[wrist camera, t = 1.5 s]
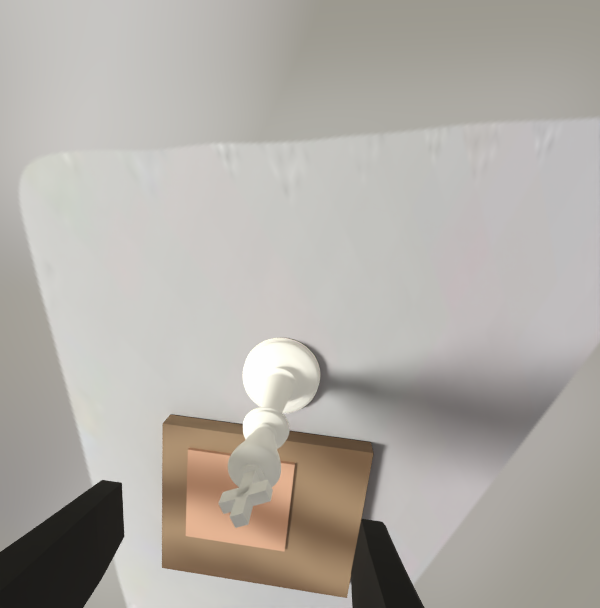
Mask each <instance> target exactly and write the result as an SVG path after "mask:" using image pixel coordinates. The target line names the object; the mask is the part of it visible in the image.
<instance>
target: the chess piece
mask: <svg viewBox="0 0 600 608" xmlns="http://www.w3.org/2000/svg"><path fill="white" fill-rule="evenodd" d="M243 383H244V387H245V390H246V392H247V394H248V395H249V397H250V398H251V399H252V400H253V401H254V402H255V403H256V404H257V405H258V406H260V407H259V408H256V409H253V410H252V411H250V412H249V413H248V414H247V415H246V417H245V419H244V422H243V434H244V437H245V439H246V440H245V441H244V442H243V443H241V444H240V445H239V446H238V447H237V448H236V449H235V450H234V451H233V453H232V454H231V456H230V458H229V461H228V473H229V476H230V478H231V479H232V481H233V482H234V483H235V484H236V485H237V486H238V487H239V488H236V489H232V490H229V491H225V492H223V493H222V495H221V498H220V500H219V503H218V504H219V506H220V508H221V510H222V512H223V514H226V513H229V512H231V514H230V519H231V521H232V522H233V524H234V526H235V528H237V527H241V526H245V525H248V524H249V520H250V516H251V512H252V508H253V506H255V505H259V504H263V503H266V502H270V501H271V497H272V492H273V489H272V487H273V486H274V485H275V484H276V483H277V482H278V480H279V478H280V475H281V462H280V457H279V454H278V451H277V449H278V448H280V447H281V446H282V445H283V444H284V443H285V441H286V440H287V438H288V436H289V430H290V429H289V423H288V421H287V419H286V417H285V416H284V415H283V414H282V413H291V412H295V411H298V410H300V409H302V408H303V407H305V406H306V405H307V404H308V403H309V402H310V401H311V400H312V399H313V398H314V396H315V394H316V392H317V389H318V386H319V383H320V368H319V364H318V361H317V359H316V357H315V356H314V354H313V353H312V352H311V351H310V350H309V349H308V348H307V347H306V346H305V345H303V344H301V343H300V342H298V341H295V340H292V339H288V338H272V339H269V340H266V341H263V342H261V343H260V344H258V345H257V346H256V347H255V348H254V349H253V350H252V351H251V352H250V353H249V355H248V357H247V359H246V361H245V365H244V369H243Z"/></svg>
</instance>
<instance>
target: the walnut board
mask: <svg viewBox="0 0 600 608" xmlns="http://www.w3.org/2000/svg"><path fill="white" fill-rule="evenodd" d="M245 440H246V439H245V437H244V434H243V425H242V424H235V423H228V422H220V421H213V420H206V419H199V418H192V417H184V416H177V415H170V416H169V417H168V418H167V419H166V420H165V421H164V423H163V463H162V568H167V569H173V570H179V571H185V572H191V573H198V574H204V575H210V576H216V577H222V578H228V579H234V580H240V581H247V582H253V583H259V584H265V585H271V586H277V587H283V588H289V589H296V590H302V591H308V592H314V593H320V594H326V595H332V596H338V597H345V598H347V594H348V588H349V583H350V578H351V570H352V564H353V559H354V554H355V549H356V543H357V538H358V533H359V528H360V523H361V518H362V512H363V507H364V502H365V496H366V491H367V485H368V480H369V474H370V469H371V464H372V458H373V449H372V445H371V442H365V441H358V440H351V439H344V438H336V437H329V436H322V435H315V434H307V433H300V432H293V431H289V436H288V438H287V440H286V441H285V443H284V444H283V445H282V446H281V447H280V448H278V449H277V451H278V454H279V457H280V462H281V475H280V478H279V480H278V482H277V483H276V484H275V485H274V486H273V487H272V489H273V492H272V497H271V501H270V502H266V503H263V504H259V505H255V506H253V508H252V512H251V516H250V520H249V524H248V525H245V526H241V527H237V528H235V526H234V524H233V522H232V521H231V519H230V514H231V512H229V513H226V514H223V512H222V510H221V508H220V506H219V504H218V503H219V500H220V498H221V495H222V493H223V492H225V491H229V490H232V489H236V488H239V487H238V486H237V485H236V484H235V483H234V482H233V481H232V479H231V478H230V476H229V473H228V461H229V458H230V456H231V454H232V453H233V451H234V450H235V449H236V448H237V447H238V446H239V445H240V444H241V443H243V442H244V441H245Z"/></svg>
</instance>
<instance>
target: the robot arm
mask: <svg viewBox="0 0 600 608" xmlns="http://www.w3.org/2000/svg"><path fill="white" fill-rule="evenodd" d="M123 538H124V521H123V500H122V483H119V482H112V481H106V480H102V481H100V482H99V483H97V484H96V485H94V486H93V487H92V488H90V489H89V490H88V491H86V492H85V493H83V494H82V495H80V496H79V497H78V498H76V499H75V500H73V501H72V502H71V503H69V504H68V505H66V506H65V507H64V508H62V509H61V510H60V511H58V512H57V513H55V514H54V515H52V516H51V517H50V518H48V519H47V520H45V521H44V522H43V523H41V524H40V525H38V526H37V527H36V528H34V529H33V530H31V531H30V532H28V533H27V534H26V535H24V536H23V537H21V538H20V539H18V540H17V541H15V542H14V543H13V544H11V545H10V546H8V547H7V548H5V549H4V550H3V551H1V552H0V608H83V607H84V605H85V604H86V602H87V601H88V599H89V598H90V596H91V595H92V593H93V592H94V590H95V588H96V587H97V585H98V584H99V582H100V581H101V579H102V577H103V575H104V573H105V572H106V570H107V568H108V566H109V564H110V562H111V561H112V559H113V557H114V555H115V553H116V551H117V549H118V547H119V545H120V543H121V542H122V540H123ZM351 584H352V606H353V608H424V606H423V604H422V602H421V600H420V598H419V596H418V594H417V592H416V590H415V588H414V586H413V584H412V582H411V580H410V578H409V576H408V574H407V572H406V570H405V568H404V566H403V564H402V562H401V559H400V557H399V555H398V553H397V551H396V549H395V546H394V544H393V542H392V540H391V537H390V535H389V533H388V531H387V528H386V526H385V525H384V523H383V522H379V521H373V520H366V519H361V523H360V528H359V533H358V538H357V543H356V549H355V554H354V559H353V564H352V570H351Z"/></svg>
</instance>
